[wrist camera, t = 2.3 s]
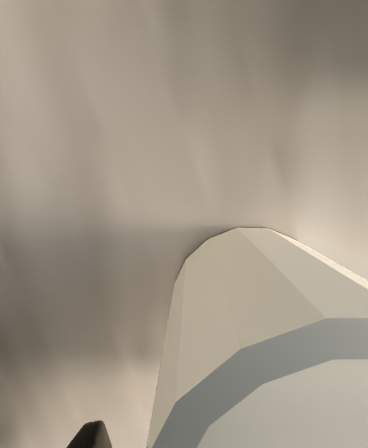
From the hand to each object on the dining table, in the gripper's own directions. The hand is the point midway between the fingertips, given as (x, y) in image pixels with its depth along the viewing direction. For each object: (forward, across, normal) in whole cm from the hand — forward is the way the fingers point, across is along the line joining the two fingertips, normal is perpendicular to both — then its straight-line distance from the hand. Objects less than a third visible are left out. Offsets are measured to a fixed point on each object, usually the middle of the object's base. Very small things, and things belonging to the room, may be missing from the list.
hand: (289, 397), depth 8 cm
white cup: (+5, 0, 0) cm, 5 cm away
